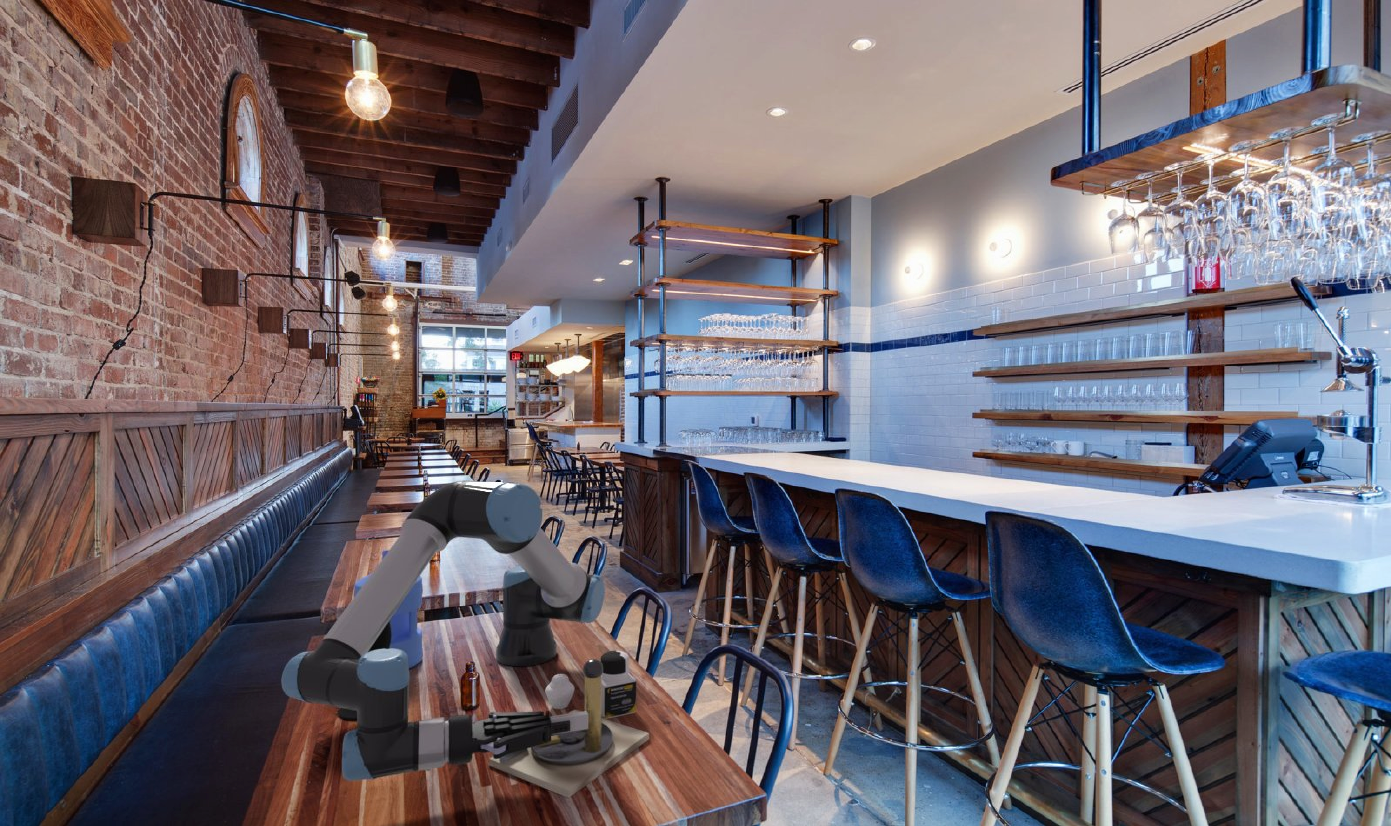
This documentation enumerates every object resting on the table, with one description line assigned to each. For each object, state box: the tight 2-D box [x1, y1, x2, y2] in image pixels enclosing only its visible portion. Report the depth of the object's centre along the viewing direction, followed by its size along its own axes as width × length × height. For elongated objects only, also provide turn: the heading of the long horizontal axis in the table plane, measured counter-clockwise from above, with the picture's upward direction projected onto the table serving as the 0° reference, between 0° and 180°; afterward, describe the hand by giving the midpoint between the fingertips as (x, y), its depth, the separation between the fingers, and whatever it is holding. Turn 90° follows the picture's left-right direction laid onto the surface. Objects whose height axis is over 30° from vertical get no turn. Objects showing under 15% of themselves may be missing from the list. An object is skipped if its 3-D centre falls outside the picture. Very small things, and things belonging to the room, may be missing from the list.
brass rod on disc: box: [531, 658, 612, 765], centre depth 128 cm, size 15×15×18 cm
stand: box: [488, 708, 650, 799], centre depth 128 cm, size 23×19×4 cm
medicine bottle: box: [600, 650, 637, 720], centre depth 145 cm, size 7×7×12 cm
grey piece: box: [544, 673, 575, 710], centre depth 147 cm, size 6×6×7 cm
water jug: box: [353, 549, 424, 669], centre depth 169 cm, size 16×16×28 cm
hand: (587, 720), depth 122 cm, fingers closed
